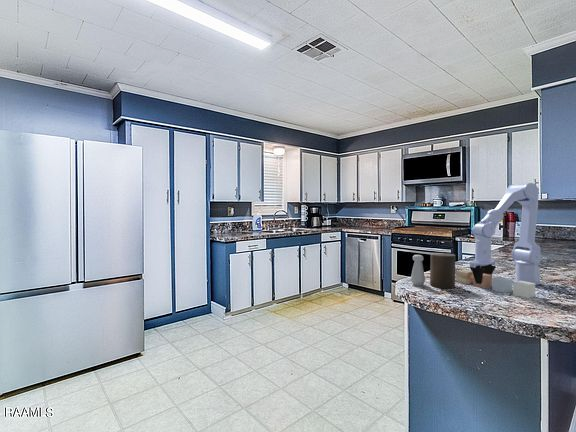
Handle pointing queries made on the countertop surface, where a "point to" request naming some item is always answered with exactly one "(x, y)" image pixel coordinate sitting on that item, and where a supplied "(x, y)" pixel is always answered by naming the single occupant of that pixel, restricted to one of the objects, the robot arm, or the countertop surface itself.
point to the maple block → (464, 276)
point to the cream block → (524, 289)
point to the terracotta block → (484, 281)
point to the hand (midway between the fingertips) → (482, 282)
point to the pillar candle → (442, 270)
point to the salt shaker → (418, 271)
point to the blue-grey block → (502, 284)
